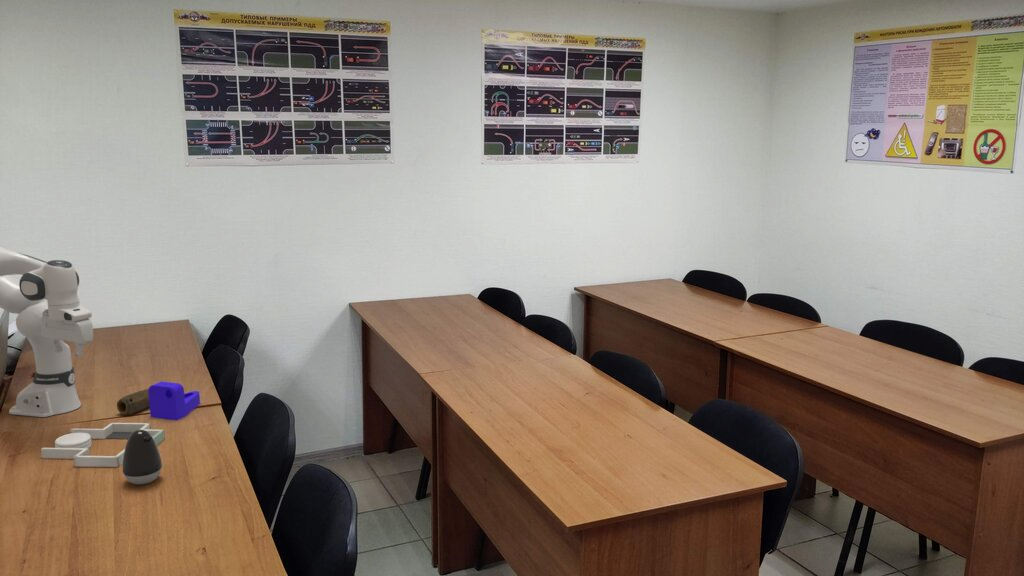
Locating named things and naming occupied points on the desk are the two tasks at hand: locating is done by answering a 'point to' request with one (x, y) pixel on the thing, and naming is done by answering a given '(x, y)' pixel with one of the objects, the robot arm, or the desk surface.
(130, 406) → the brown hollow cylinder
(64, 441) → the coaster
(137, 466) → the dark grey egg shape
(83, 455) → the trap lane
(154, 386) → the bracket
